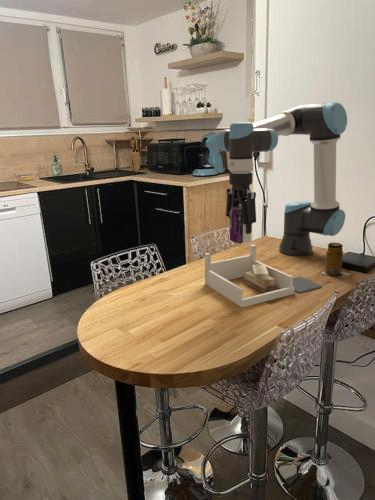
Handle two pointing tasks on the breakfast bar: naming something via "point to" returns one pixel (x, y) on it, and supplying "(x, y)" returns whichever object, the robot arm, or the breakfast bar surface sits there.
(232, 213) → the beverage can
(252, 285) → the offcut walnut
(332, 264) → the condiment
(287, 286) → the frame
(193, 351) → the breakfast bar surface
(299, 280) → the coaster
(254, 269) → the offcut birch
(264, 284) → the offcut oak
